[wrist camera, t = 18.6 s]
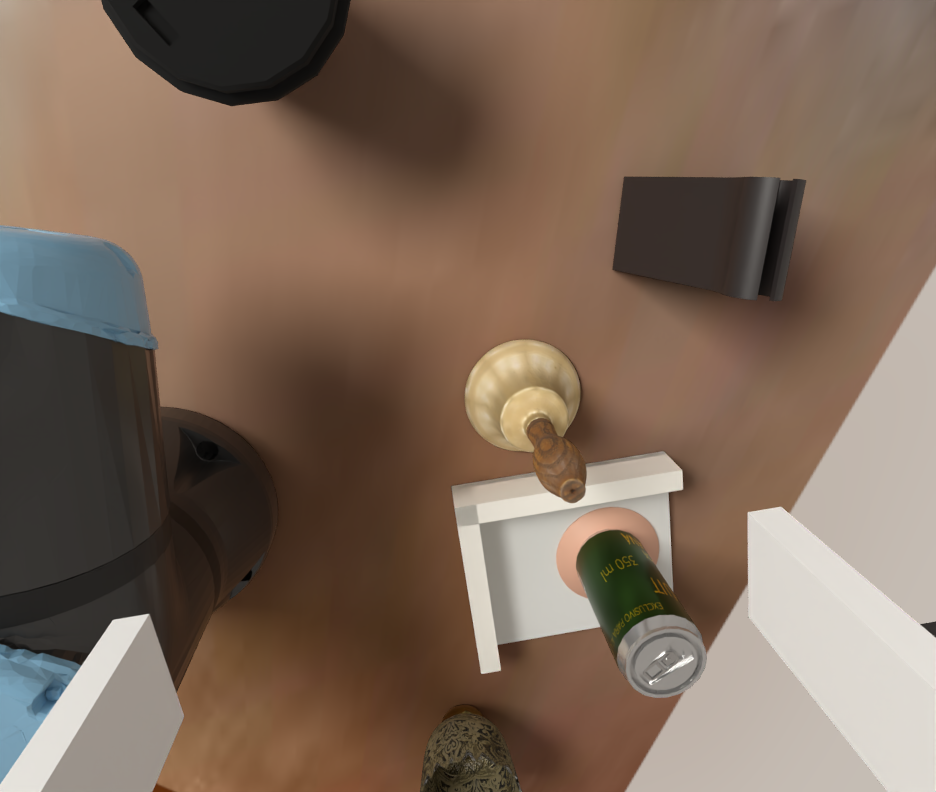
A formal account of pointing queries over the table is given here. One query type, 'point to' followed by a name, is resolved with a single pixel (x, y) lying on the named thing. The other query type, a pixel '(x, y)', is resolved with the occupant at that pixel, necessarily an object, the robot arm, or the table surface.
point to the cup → (467, 756)
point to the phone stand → (710, 232)
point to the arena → (553, 545)
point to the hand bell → (530, 410)
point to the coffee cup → (232, 43)
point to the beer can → (640, 615)
